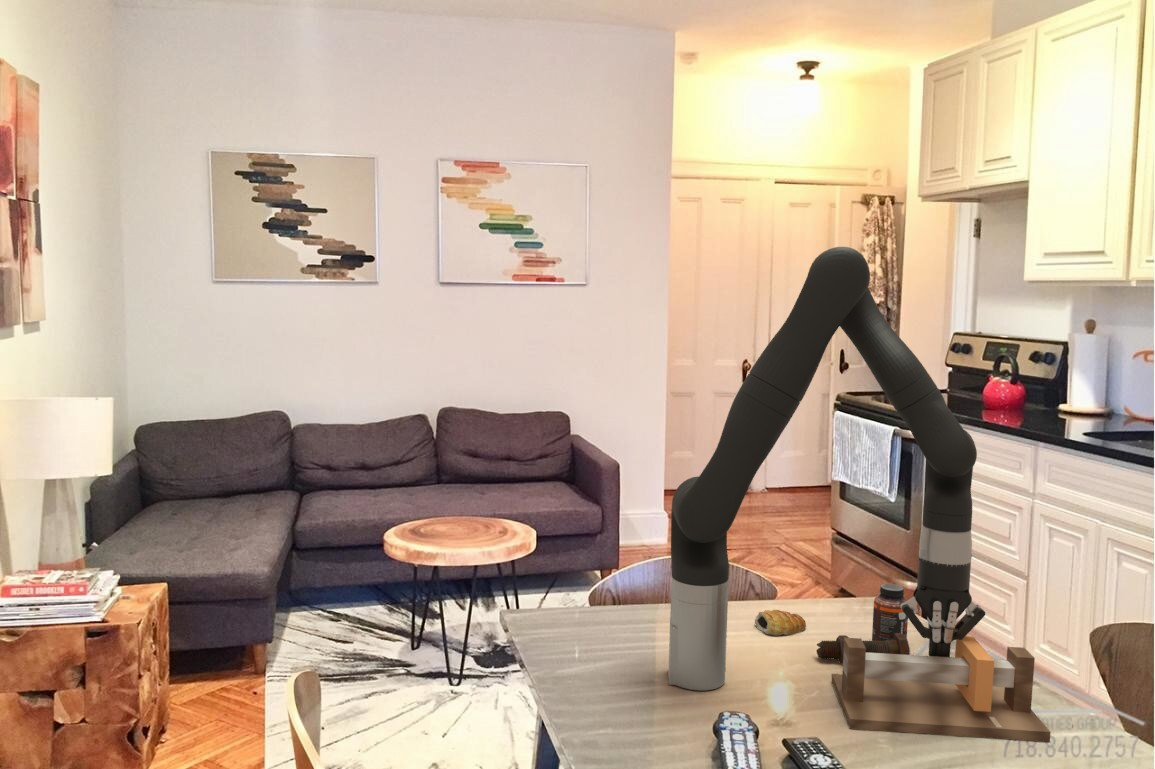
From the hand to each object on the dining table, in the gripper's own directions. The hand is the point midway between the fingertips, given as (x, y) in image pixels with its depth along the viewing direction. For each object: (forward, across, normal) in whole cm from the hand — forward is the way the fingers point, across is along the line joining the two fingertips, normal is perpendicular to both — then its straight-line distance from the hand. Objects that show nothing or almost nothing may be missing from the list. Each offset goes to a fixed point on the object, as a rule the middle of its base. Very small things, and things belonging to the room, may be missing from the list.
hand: (938, 663), depth 143 cm
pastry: (+7, +21, -28) cm, 36 cm away
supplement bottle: (+6, +2, -22) cm, 23 cm away
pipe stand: (+6, +1, +4) cm, 7 cm away
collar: (+4, -4, +4) cm, 6 cm away
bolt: (+7, +9, -14) cm, 18 cm away
